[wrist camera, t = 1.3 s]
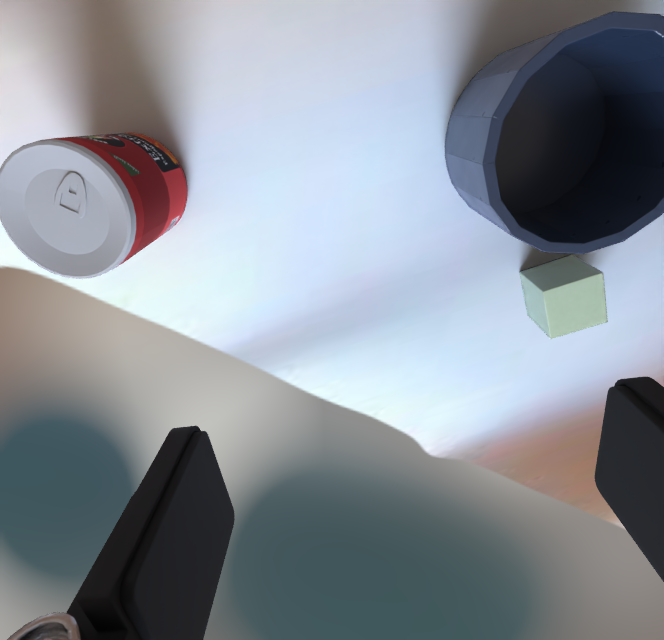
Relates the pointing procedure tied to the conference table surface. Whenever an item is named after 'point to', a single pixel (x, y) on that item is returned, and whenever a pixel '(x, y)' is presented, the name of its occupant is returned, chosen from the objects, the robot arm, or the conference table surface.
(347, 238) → the conference table surface
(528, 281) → the block
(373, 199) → the conference table surface
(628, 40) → the pot
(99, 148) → the canned food
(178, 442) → the robot arm
